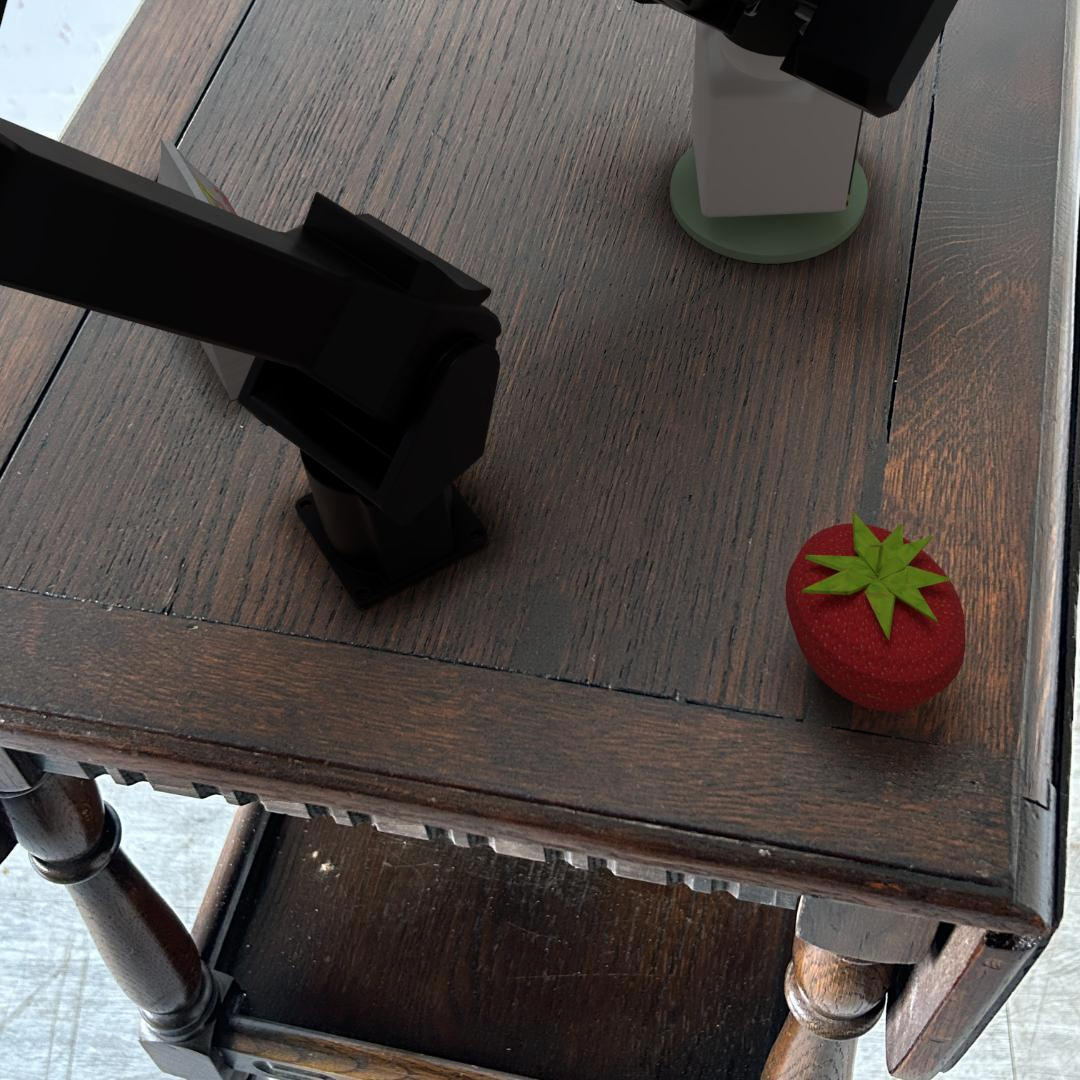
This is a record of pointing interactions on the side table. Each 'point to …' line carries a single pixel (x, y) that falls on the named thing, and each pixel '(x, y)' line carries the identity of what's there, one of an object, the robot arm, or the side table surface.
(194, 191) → the tea bag
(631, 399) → the side table surface
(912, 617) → the strawberry
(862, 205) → the coaster
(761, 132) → the medicine bottle
